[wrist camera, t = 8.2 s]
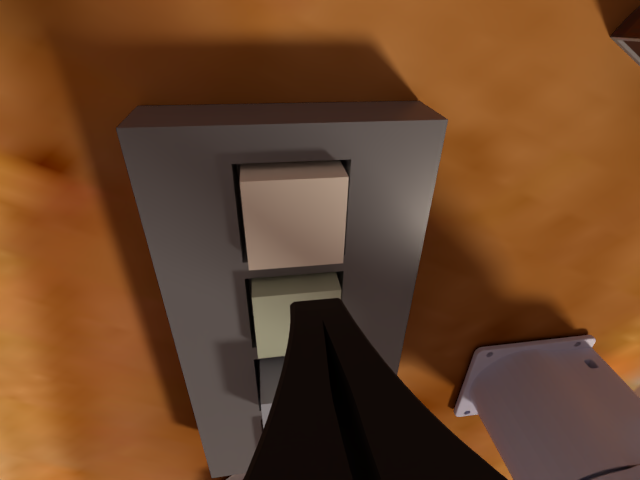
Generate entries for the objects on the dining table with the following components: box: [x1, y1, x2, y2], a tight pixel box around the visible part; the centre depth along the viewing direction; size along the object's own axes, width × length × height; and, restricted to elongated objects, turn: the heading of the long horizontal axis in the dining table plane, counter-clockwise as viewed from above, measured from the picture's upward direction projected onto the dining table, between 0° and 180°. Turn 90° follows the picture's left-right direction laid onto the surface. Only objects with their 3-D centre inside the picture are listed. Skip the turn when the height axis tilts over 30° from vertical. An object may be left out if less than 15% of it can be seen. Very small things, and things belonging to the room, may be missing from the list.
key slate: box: [260, 356, 285, 429], centre depth 21 cm, size 4×4×3 cm
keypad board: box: [116, 101, 448, 478], centre depth 22 cm, size 12×24×3 cm, turn 179°
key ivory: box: [240, 160, 349, 270], centre depth 16 cm, size 4×4×3 cm
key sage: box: [252, 272, 341, 359], centre depth 19 cm, size 4×4×3 cm
